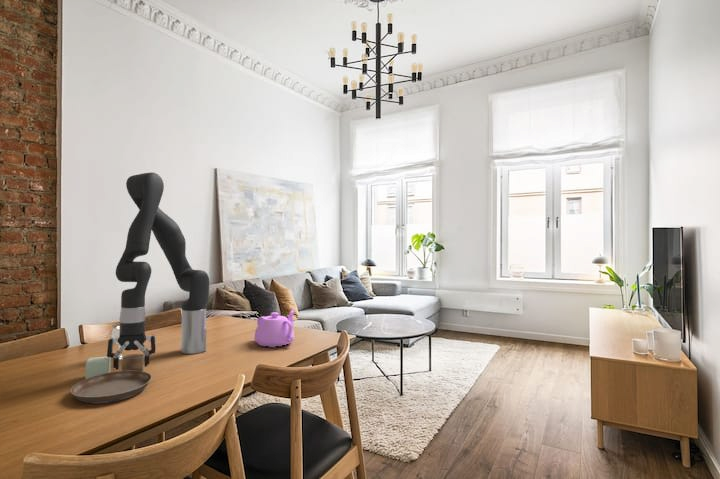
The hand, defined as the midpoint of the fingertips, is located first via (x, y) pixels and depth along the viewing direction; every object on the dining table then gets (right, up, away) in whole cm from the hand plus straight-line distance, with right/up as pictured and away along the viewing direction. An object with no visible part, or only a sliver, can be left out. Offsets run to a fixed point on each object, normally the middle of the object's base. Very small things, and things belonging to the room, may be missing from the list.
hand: (131, 367), depth 136 cm
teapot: (+41, -3, +43) cm, 59 cm away
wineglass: (-14, -2, +17) cm, 22 cm away
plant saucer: (+4, -3, -16) cm, 17 cm away
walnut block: (0, -2, 0) cm, 2 cm away
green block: (-9, -2, -4) cm, 10 cm away
